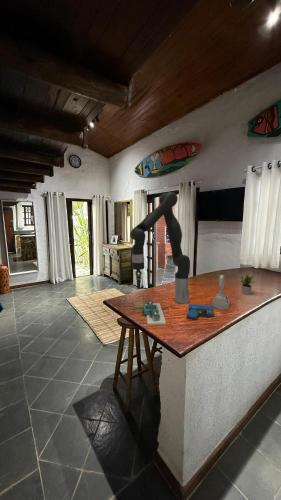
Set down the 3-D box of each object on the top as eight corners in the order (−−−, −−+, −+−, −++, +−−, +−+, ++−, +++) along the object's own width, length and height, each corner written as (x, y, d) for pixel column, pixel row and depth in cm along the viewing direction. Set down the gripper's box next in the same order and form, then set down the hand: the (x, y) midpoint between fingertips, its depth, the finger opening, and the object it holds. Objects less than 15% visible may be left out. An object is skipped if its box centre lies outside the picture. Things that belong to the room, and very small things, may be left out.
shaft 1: (153, 309, 133) (153, 303, 133) (147, 309, 133) (147, 303, 133) (152, 304, 141) (152, 298, 141) (146, 304, 141) (146, 298, 141)
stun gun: (215, 317, 116) (213, 304, 130) (186, 315, 119) (187, 302, 134) (215, 324, 117) (212, 310, 131) (186, 321, 120) (187, 308, 135)
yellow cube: (143, 308, 136) (143, 301, 136) (143, 312, 131) (143, 304, 131) (135, 309, 136) (135, 301, 136) (135, 312, 131) (135, 304, 131)
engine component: (211, 307, 136) (227, 310, 131) (211, 276, 134) (228, 278, 128) (215, 301, 146) (230, 304, 140) (215, 272, 143) (231, 274, 138)
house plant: (262, 297, 152) (263, 275, 150) (243, 297, 152) (244, 275, 150) (252, 290, 166) (253, 270, 164) (234, 291, 166) (235, 271, 164)
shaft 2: (148, 315, 124) (148, 309, 123) (154, 314, 125) (154, 308, 125) (154, 321, 116) (154, 314, 116) (160, 320, 118) (160, 313, 117)
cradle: (157, 309, 133) (157, 304, 133) (158, 314, 125) (158, 310, 124) (143, 309, 133) (143, 305, 133) (144, 315, 125) (144, 310, 124)
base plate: (159, 304, 143) (159, 303, 143) (165, 324, 115) (165, 322, 115) (144, 304, 143) (144, 303, 143) (147, 324, 115) (147, 323, 115)
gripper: (144, 263, 123) (145, 290, 125) (143, 259, 137) (144, 283, 139) (132, 263, 123) (132, 290, 125) (132, 259, 137) (132, 283, 139)
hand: (138, 286), depth 132 cm, fingers open, 8 cm apart
